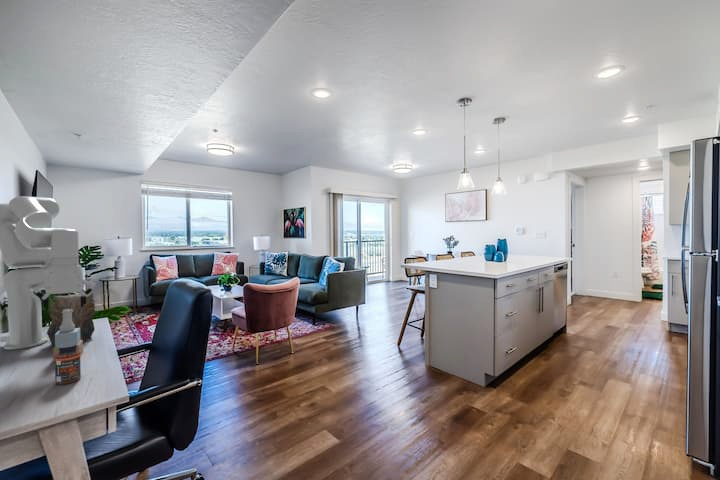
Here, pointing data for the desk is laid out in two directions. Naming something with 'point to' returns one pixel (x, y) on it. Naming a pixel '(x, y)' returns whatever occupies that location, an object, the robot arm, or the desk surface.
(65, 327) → the rook chess piece
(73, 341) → the slate block
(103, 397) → the desk surface
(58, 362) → the supplement bottle
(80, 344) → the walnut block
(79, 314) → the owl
